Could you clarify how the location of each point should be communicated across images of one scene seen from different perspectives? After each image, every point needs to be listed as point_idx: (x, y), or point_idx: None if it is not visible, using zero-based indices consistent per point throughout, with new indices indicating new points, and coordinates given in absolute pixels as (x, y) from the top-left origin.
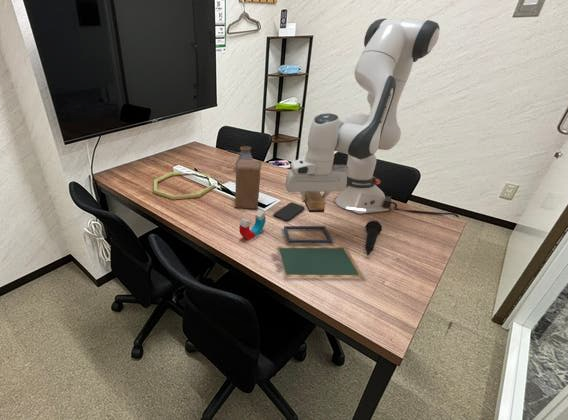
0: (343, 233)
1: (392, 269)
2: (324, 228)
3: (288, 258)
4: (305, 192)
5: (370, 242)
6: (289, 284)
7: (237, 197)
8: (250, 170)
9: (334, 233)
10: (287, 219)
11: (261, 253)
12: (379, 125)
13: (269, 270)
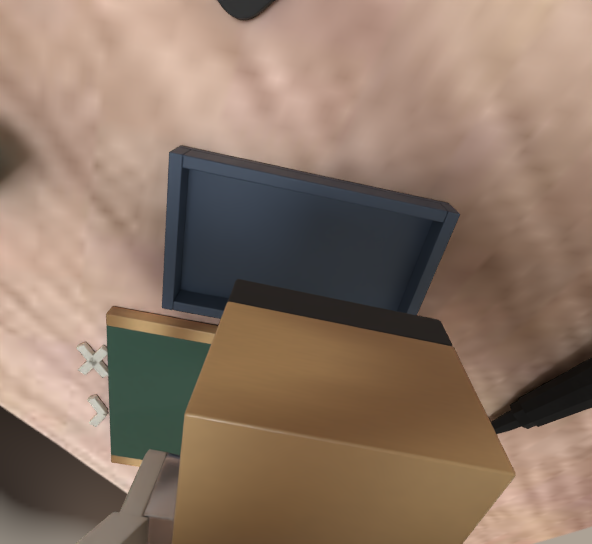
0: (540, 257)
1: (514, 480)
2: (438, 241)
3: (138, 393)
4: (172, 537)
5: (569, 410)
6: (122, 468)
7: None
8: None
9: (488, 246)
10: (241, 13)
11: (24, 321)
12: None
13: (58, 411)
